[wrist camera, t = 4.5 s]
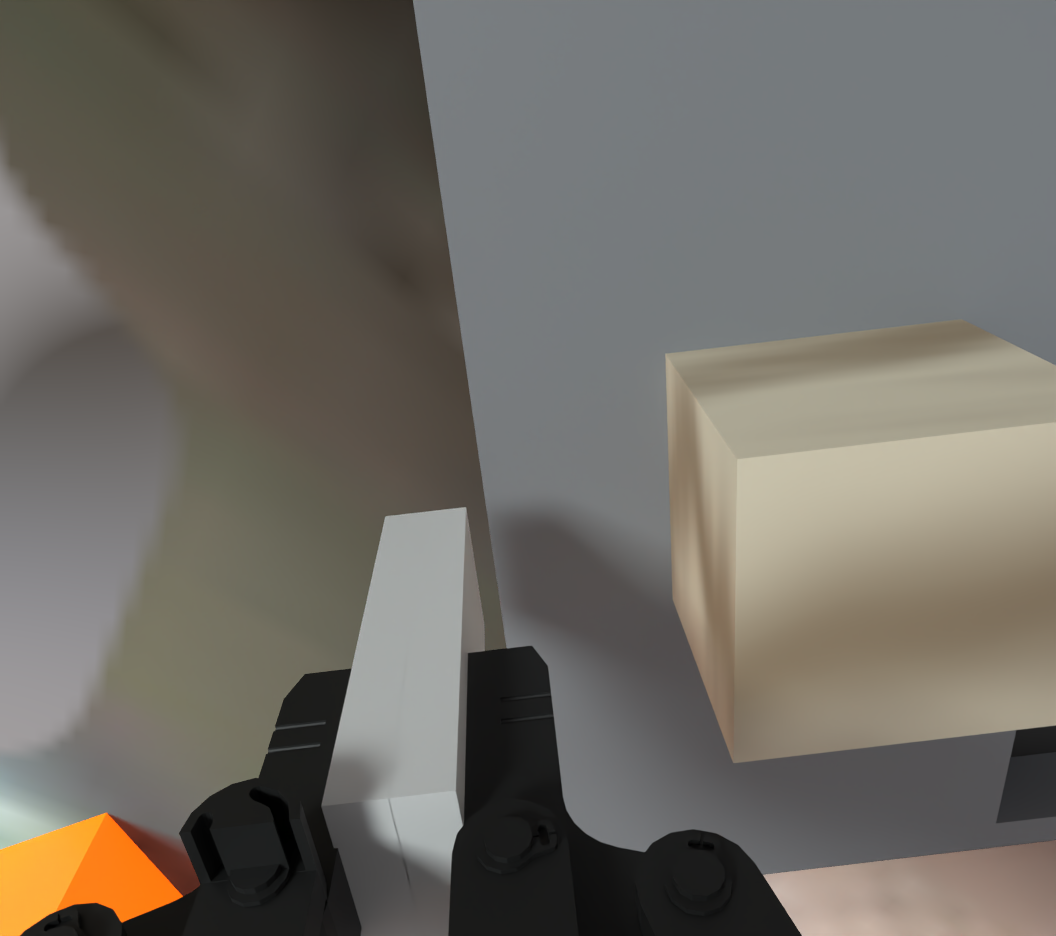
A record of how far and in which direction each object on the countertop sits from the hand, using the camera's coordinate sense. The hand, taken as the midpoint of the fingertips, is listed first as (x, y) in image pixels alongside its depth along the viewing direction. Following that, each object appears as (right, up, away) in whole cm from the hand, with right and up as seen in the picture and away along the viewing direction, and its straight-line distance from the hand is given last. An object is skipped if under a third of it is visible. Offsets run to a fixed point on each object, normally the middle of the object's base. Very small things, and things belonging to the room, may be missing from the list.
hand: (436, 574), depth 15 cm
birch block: (+8, +2, +2) cm, 8 cm away
